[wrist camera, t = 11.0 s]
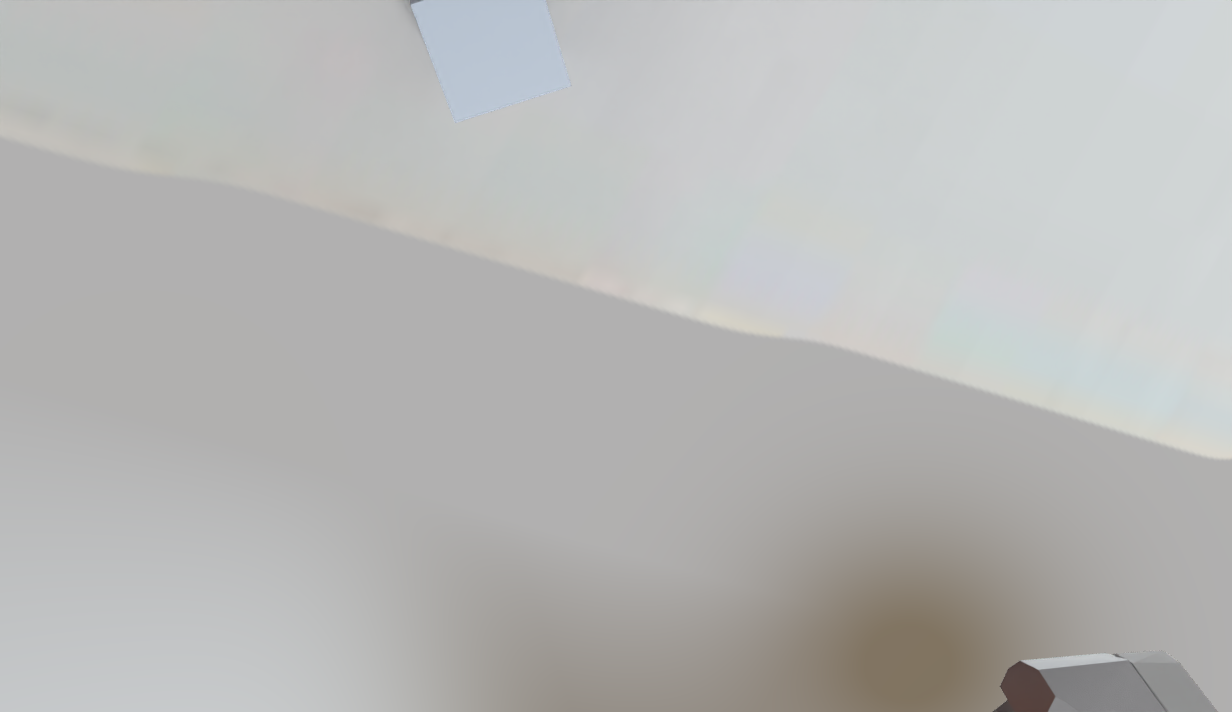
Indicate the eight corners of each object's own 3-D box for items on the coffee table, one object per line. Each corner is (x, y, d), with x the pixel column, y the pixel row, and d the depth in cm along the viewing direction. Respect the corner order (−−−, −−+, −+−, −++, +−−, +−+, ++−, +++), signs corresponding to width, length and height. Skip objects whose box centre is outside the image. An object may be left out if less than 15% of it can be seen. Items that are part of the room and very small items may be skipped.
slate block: (523, -65, 35) (534, -36, 32) (556, 48, 38) (571, 86, 34) (409, -28, 35) (410, 4, 32) (450, 82, 38) (455, 123, 34)
